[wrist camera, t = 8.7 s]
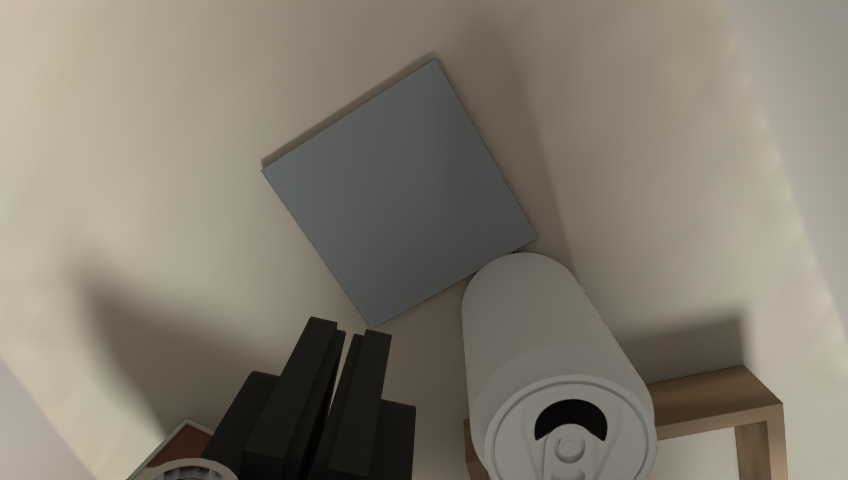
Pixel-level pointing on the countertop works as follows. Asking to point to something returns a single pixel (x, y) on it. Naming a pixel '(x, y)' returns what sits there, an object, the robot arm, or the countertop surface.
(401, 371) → the countertop surface
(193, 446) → the food container
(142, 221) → the countertop surface
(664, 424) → the walnut box
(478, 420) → the beverage can
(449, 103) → the charcoal mat
